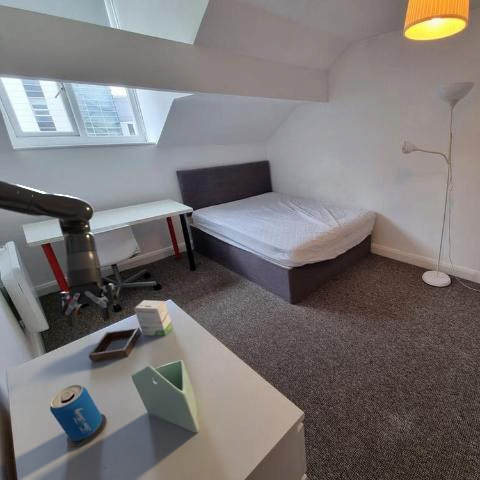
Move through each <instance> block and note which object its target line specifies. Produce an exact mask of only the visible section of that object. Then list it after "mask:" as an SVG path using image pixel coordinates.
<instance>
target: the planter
mask: <svg viewBox="0 0 480 480" xmlns="http://www.w3.org/2000/svg"><path fill="white" fill-rule="evenodd" d="M131 379H132V381H133V382H132V383H133V384H134V386H135V389H136V391H137V393H138V395H139V397H140V399H141V401H142V404H143V406H144V408H145V410H146V412H147V414H149V415H152V416H154V417H157V418H158V419H161V420H164V421H166V422H168V423H170V424H173V425H175V426H178V427H180V428H183V429H185V430H187V431H190V432H192V433H195V434H198V433H199V430H200V428H199V419H198V407H197V400H196V394H195V392H194V389H193V386H192V383H191V380H190V377H189V373H188V371H187V369H186V366H185V363H184V360H183V359H179V360H176V361H173V362H168V363H165V364H163V365H160V366H157V367H153V366H151V365H146V366H145V367H144V368H142V369H140V370H139V371H136V372H135V373H132V374H131Z"/></svg>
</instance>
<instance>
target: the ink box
mask: <svg viewBox="0 0 480 480" xmlns="http://www.w3.org/2000/svg"><path fill="white" fill-rule="evenodd" d="M133 309H134V312H135V315H136V318H137V321H138V324H139V328H140V331H141V333H142V335H143V336H159V337H160V336H164V337H165V336H167V335H168V333H169V332H170V331H171V329H172V328H173V323H172V319H171V316H170V313H169V309H168V306H167V303H166V300H145V299H143V300H142V301H141V302H139V303H138V304H137V305H136V306H135V307H134V308H133Z"/></svg>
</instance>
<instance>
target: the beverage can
mask: <svg viewBox="0 0 480 480" xmlns="http://www.w3.org/2000/svg"><path fill="white" fill-rule="evenodd" d="M49 410H50V413H51V414H52V415H53V417H54V418H55V420H56V421H57V422H58V424H59V425H60V427H61V429H62V430H63V432H65V434H66V435H67V438H68V437H69V438H70V439H71V440H73V441H76V440H81V439H83V438H85V437H87V436H89V435H90V434H92V433H93V432H94V431H95V430H96V429H97V428H98V427H99V425H100V423H101V421H102V415H101V414H102V413H101V411H100V410H99V409H98V407H97V405H96V403H95V401H94V400H93V398H92V396H91V395H90V393H89V391H88V389H87V388H86V387H85V386H82V385H80V384H73V385H69V386H67V387H64V388H63V389H61V390H60V391H58V392H57V393H56V394H55V395H54V396H53V397H52V398H51V400H50V407H49Z"/></svg>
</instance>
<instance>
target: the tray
mask: <svg viewBox="0 0 480 480" xmlns="http://www.w3.org/2000/svg"><path fill="white" fill-rule="evenodd" d="M141 335H143V333H142V330H141V327H140V326H137V327H132V328H125V329H117V330H110V331H106V332H105V333H104V334H103V336H102V337H101V338H100V340H99V341H98V342H97V343H96V344H95V346H94V347H93V349H92V350H91V352H90V353H89V354H88V358H89V360H90V361H91V363H96V362H103V361H104V362H105V361H110V360H117V359H122V358H128V357H129V356H130V354H131V353H132V351H133V349H134V347H135V346H136V344H137V343H138V341H139V340H140V337H141ZM127 339H128V340H127ZM120 340H127V342H126V344H125V345H124V347H123V348H119V349H112V350H107V349H108V347H109V346H110V344H111V343H112V342H114V341H120Z"/></svg>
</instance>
